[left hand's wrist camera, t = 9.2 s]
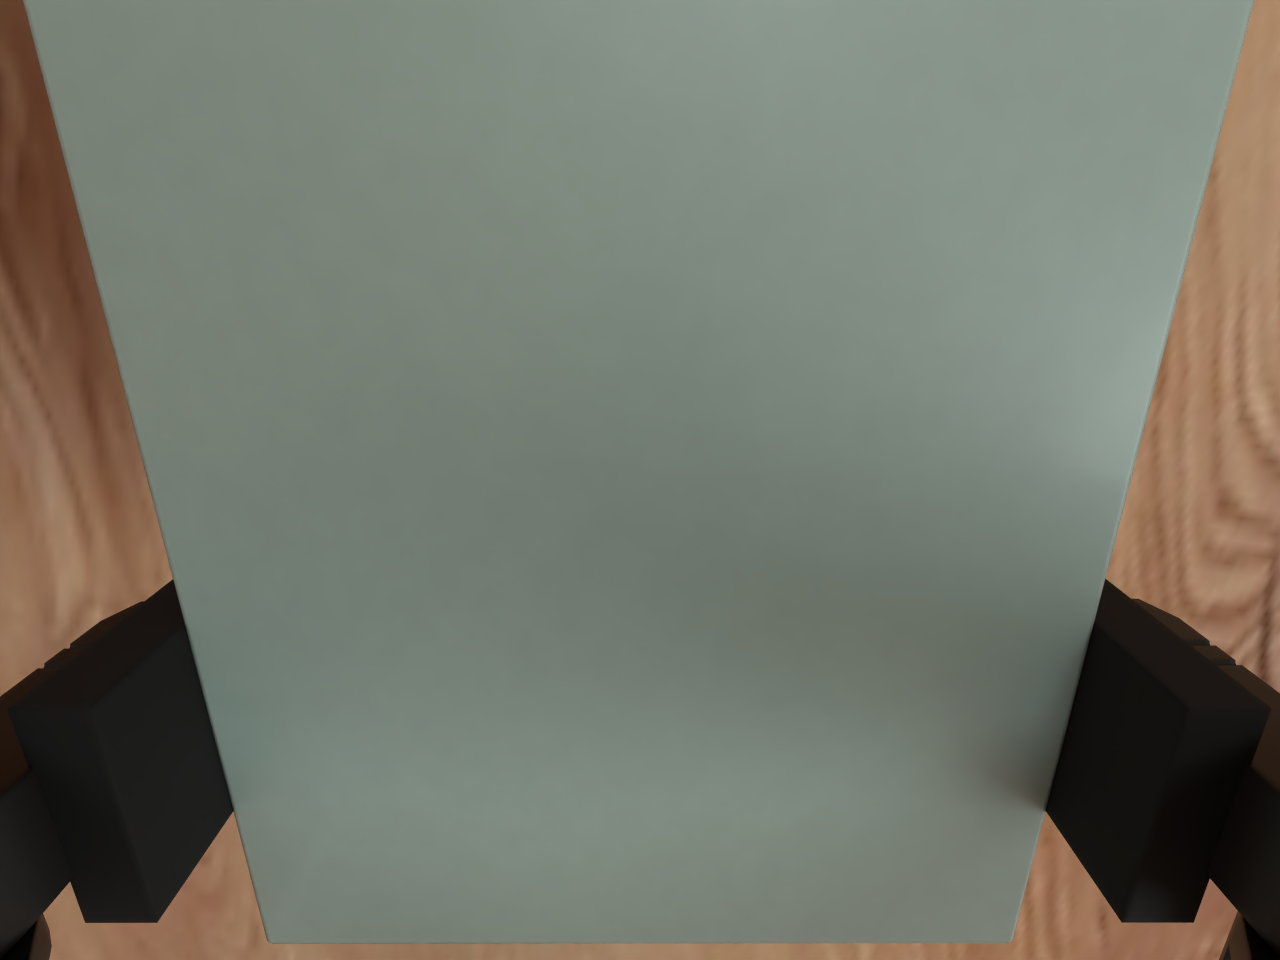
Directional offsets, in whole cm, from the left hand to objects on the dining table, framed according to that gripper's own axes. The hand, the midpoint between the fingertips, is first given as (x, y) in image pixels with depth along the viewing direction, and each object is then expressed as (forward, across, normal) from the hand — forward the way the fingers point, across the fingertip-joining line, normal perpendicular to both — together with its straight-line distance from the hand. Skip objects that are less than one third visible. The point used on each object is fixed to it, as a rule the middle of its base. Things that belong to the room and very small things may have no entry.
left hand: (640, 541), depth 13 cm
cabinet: (+6, 0, -5) cm, 8 cm away
